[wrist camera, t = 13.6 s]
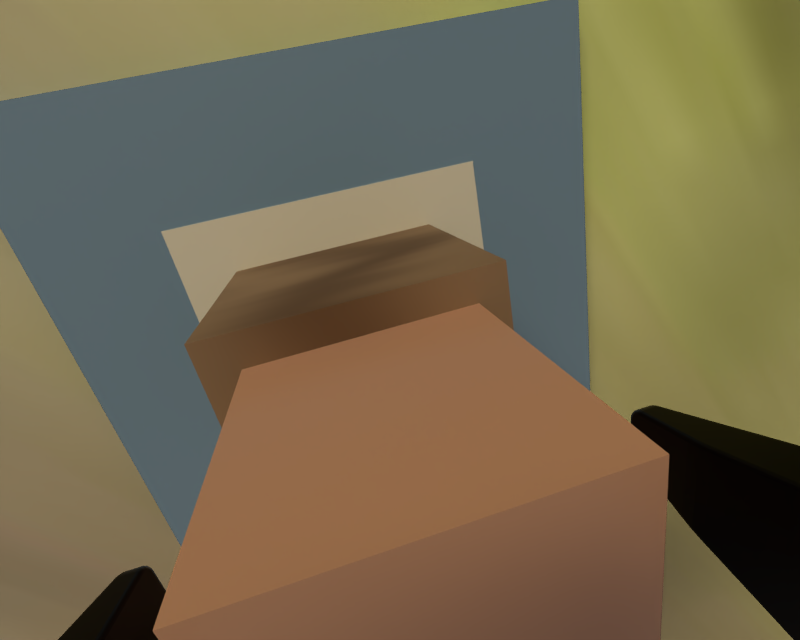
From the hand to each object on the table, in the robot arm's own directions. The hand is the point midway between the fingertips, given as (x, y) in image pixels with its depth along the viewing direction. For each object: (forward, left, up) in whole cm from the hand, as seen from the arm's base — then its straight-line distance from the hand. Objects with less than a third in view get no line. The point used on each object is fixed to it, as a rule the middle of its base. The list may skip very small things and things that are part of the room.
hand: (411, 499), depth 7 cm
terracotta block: (0, 0, -2) cm, 2 cm away
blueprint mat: (0, -1, -9) cm, 9 cm away
